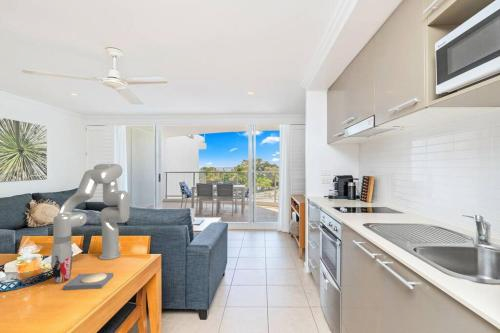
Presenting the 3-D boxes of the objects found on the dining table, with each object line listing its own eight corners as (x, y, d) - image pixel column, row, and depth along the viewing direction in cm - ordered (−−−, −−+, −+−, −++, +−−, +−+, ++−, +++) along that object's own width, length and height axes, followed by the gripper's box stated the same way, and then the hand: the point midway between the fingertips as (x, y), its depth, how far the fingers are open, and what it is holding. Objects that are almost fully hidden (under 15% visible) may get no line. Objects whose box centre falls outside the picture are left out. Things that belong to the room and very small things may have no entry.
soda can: (62, 284, 132) (62, 260, 132) (50, 283, 134) (50, 259, 134) (74, 278, 139) (74, 255, 139) (62, 277, 141) (62, 254, 141)
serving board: (79, 277, 140) (79, 272, 140) (113, 276, 142) (113, 271, 142) (63, 290, 126) (63, 284, 126) (101, 288, 128) (101, 282, 128)
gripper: (64, 235, 145) (64, 267, 145) (43, 244, 128) (43, 280, 128) (79, 235, 146) (79, 266, 146) (60, 244, 128) (60, 280, 128)
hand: (62, 273), depth 137 cm, fingers open, 9 cm apart
